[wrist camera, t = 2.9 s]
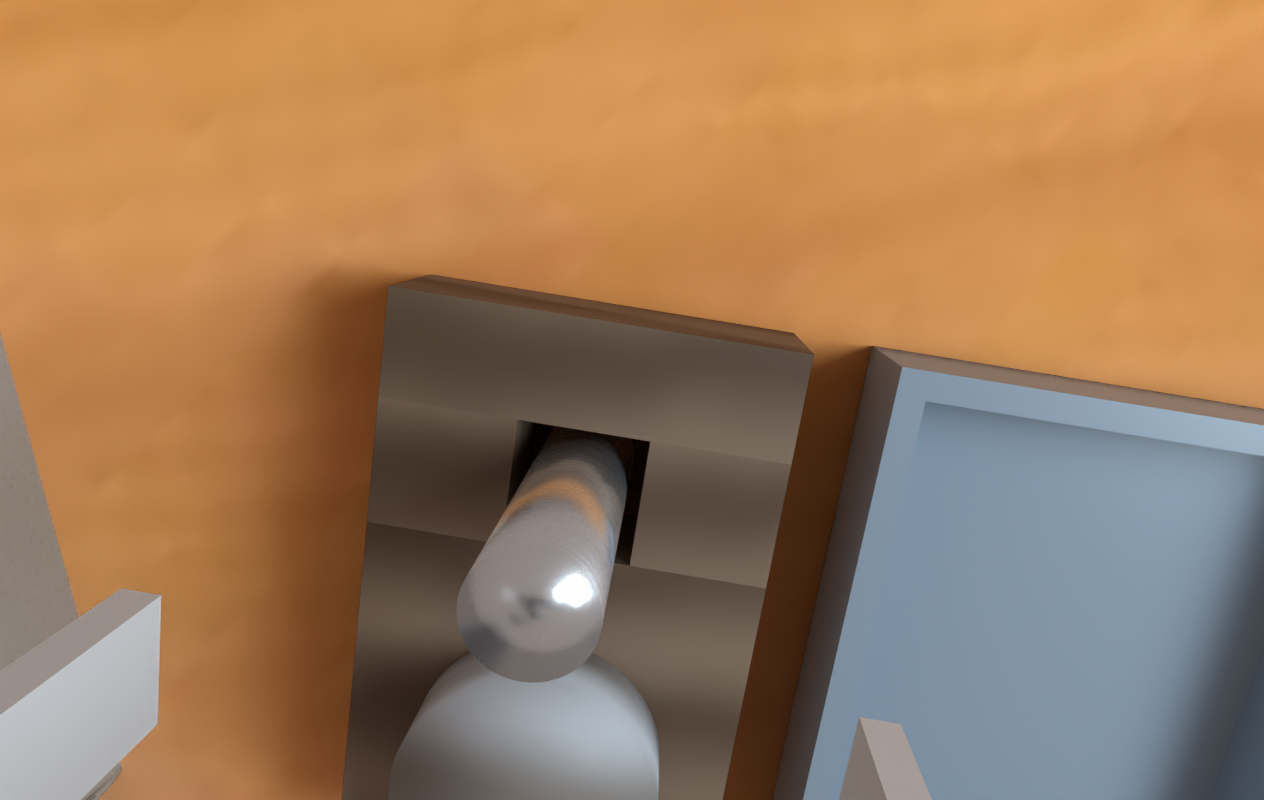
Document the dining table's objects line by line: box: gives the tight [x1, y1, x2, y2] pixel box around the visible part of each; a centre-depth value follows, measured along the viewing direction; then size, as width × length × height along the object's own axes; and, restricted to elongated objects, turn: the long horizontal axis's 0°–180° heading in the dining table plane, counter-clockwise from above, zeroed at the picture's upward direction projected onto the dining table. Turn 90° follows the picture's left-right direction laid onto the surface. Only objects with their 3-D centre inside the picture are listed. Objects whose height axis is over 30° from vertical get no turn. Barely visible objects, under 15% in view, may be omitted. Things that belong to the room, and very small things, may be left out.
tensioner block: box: [342, 275, 814, 800], centre depth 31 cm, size 22×14×8 cm, turn 171°
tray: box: [772, 346, 1264, 800], centre depth 32 cm, size 22×18×4 cm
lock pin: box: [456, 426, 634, 683], centre depth 27 cm, size 4×4×14 cm
